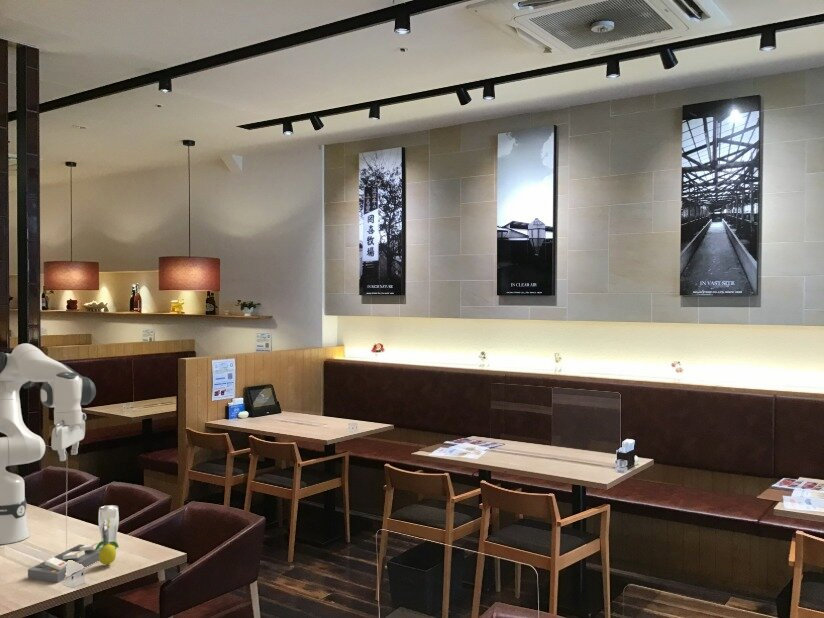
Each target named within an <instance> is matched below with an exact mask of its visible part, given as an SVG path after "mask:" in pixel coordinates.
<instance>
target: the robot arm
mask: <svg viewBox="0 0 824 618" xmlns="http://www.w3.org/2000/svg"><path fill="white" fill-rule="evenodd" d="M35 383H44V384H43V385H42V386H41V387H40V389H39V399H40V402H41V404H42V405H44V406H45V407H47V408H54V409H53V419H54V420H53V421H54V422H53V424H54V425H55V427H54V428H52V432H51V443H50V445H51V446H50V448H51V450H53V451H57V454H58V456H59V461H60V462H65V461H67V456H68V455H67V454H66V449H67V448H68V447H70V446H71V450H70V455H71V456H73V455H74V456H76V455H77V454H79V453H78V450H79V449H78V448H79V444H80V441H82V440H84V438H85V435H86V420H87V414H86V413H84V412H82V406H83V405H84V406H87V405H88V404H91V402H92V401H93V400H94V399H95V397H96V395H97V389H96V388H97V387H96V385H95V383H94V382H93V380H91V378H88V377H87V376H83V375H81V374H80V373H78V372H77V371H75V370H74V369H72V368H71V367H69V366H68V365H67V364H66V363H65V364H64V363H62V362H59V361H57V360H55V359H54V358H51V357H50V356H48V355H46V354H45V353H44V352H43V351H42V350H41V349H40V348H38V347H37V346H35V345H33V344H31V343H27V342H26V343H21V344H18V345H16V346H15V347H14V348H13V349H12V352H11V353H5V352H4V351H1V352H0V433H2V434H4V435H6V436H2V437H0V545H7V544H14V543H17V542H21V541H23V540H25V539H27V538H29V537H30V536H31V532H30V527H29V524H28V517H27V515H28V514H27V511H26V509H27V499H26V497H25V496H26V495H25V494H26V493H25V492H26V491H25V488H26V487H25V480H24V478H23V477H22V476H20V475H19V474H17V473H13V472H9V471H8V470H6V467H9V466H10V467H11V466H17V465H25V464H30V463H34V462H37V461H40V460H41V459H42V458H43V457H44V455H45V452H46V443H45V440H44V439H43V438H42V437H41V436H40V435H38V434H36V433H34V432H32V431H31V430H30V429H29V428H28V427H27V425H26V424H25V423H24V420H23V415H22V408H21V399H20V390H21V388H23V389H29V387H30V386H33V385H34V384H35Z"/></svg>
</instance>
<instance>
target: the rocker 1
mask: <svg viewBox="0 0 824 618" xmlns="http://www.w3.org/2000/svg"><path fill="white" fill-rule="evenodd" d="M50 558H51V559H50ZM50 558H49V560H48V559H47V561H46V560H45V561H46V562H45V565H48V566H50V567H53V568H55V569H57V570H61V569H63V568H65V567H66V566H67V564H68V563H67V562H64V561H62V560H60V559H57V558H55V556H52V557H50Z"/></svg>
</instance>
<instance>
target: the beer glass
mask: <svg viewBox="0 0 824 618" xmlns="http://www.w3.org/2000/svg"><path fill="white" fill-rule="evenodd" d="M119 515H120V514H119V506H118V505H113V504H111V505H104V506H100V507H99V509H98V528H99V529H98V530H99V533H100V542H101V541H105V542H104V543H103V544H102V545H101V546H100V547H103V546H104V545H106V544H107V537H108V544H110V543H109V542H113V541H114V542H116V543H117V544H118V540H117V538H118V537H117V536H118V529H119V522H120V516H119ZM112 546H113V545H112ZM114 548H115V550H116V549H118V548H117V547H114Z"/></svg>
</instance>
